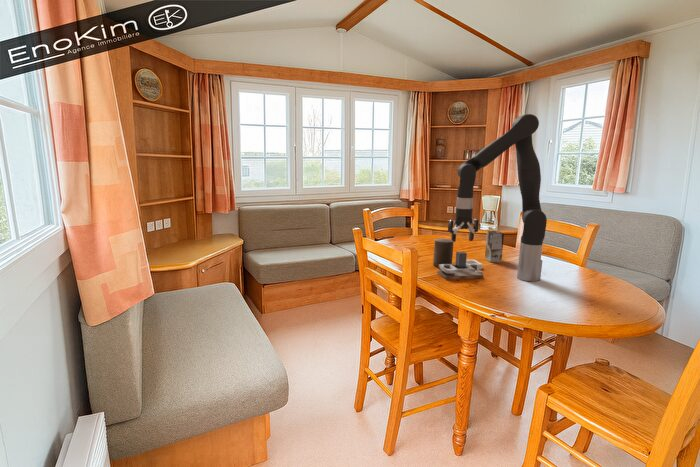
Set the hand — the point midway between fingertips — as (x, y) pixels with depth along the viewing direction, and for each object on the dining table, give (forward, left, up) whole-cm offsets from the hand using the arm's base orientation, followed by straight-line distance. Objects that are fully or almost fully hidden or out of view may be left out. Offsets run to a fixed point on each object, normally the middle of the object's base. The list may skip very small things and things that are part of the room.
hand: (462, 241), depth 177 cm
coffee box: (-31, -23, -17) cm, 42 cm away
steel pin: (0, 0, -16) cm, 16 cm away
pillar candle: (+1, -17, -17) cm, 25 cm away
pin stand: (-12, -13, -17) cm, 25 cm away
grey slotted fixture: (0, 0, -17) cm, 17 cm away
